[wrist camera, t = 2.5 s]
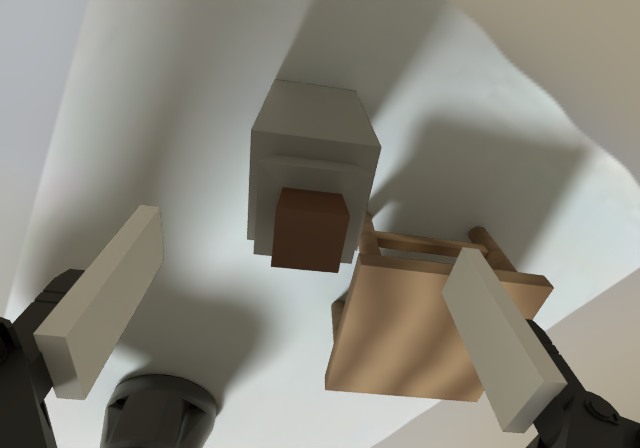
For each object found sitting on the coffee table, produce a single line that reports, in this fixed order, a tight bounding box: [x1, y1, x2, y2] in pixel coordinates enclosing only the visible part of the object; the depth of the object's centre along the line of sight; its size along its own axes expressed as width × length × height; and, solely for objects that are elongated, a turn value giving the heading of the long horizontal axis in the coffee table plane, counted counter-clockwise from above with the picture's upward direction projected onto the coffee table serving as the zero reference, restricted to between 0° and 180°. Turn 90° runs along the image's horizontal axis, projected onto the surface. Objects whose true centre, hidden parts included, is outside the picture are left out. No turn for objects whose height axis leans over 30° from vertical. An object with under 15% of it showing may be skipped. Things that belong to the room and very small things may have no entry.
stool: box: [325, 212, 554, 402], centre depth 36 cm, size 16×16×10 cm
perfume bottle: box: [247, 80, 381, 273], centre depth 24 cm, size 7×7×18 cm
